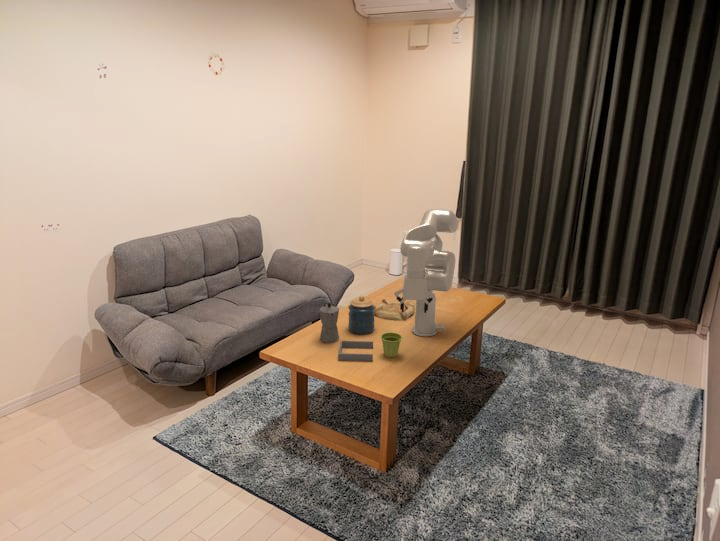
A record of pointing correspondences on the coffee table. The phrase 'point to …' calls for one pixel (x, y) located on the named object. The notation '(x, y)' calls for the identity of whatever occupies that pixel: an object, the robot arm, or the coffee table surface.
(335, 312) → the coffeepot
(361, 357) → the bay
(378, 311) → the ashtray
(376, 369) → the coffee table surface
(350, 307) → the canister
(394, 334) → the plant pot
